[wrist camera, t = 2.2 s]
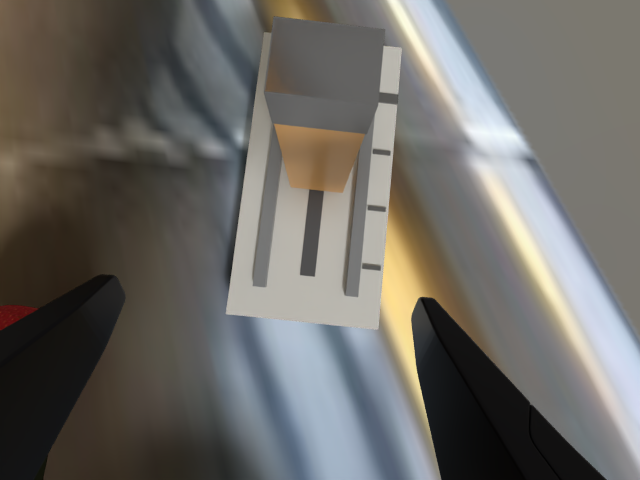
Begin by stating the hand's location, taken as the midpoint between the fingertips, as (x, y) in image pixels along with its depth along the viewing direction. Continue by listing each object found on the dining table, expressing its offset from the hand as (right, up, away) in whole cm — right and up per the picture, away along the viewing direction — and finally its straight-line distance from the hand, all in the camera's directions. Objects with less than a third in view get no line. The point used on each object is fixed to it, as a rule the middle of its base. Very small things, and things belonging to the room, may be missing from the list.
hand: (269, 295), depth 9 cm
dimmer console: (+1, +6, +14) cm, 15 cm away
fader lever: (+1, +6, +11) cm, 13 cm away
